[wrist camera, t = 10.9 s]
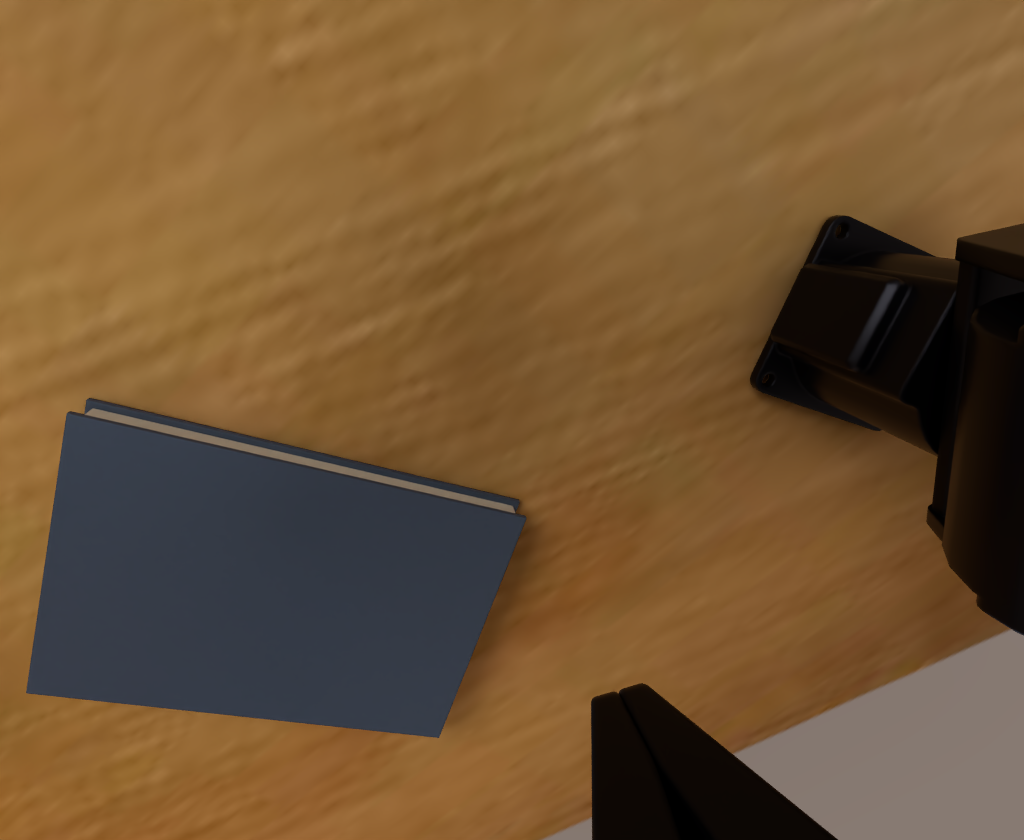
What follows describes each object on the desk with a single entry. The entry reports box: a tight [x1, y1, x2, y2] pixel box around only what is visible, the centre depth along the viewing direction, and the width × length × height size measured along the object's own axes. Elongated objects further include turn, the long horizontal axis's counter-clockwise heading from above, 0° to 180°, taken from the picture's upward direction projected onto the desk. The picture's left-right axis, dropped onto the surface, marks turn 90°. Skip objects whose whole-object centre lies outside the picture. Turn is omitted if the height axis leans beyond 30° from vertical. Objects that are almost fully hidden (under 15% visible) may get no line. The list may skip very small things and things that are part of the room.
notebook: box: [26, 398, 526, 738], centre depth 21 cm, size 14×10×1 cm
